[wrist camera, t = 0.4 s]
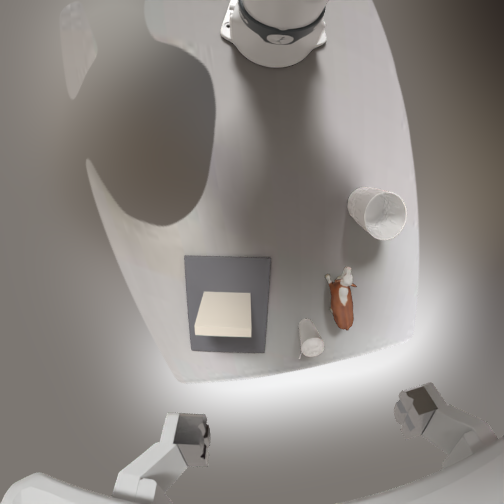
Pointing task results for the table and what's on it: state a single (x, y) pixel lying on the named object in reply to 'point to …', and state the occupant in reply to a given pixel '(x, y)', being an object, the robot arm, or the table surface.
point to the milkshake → (310, 339)
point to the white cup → (378, 212)
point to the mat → (228, 280)
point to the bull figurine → (342, 299)
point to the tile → (224, 315)
